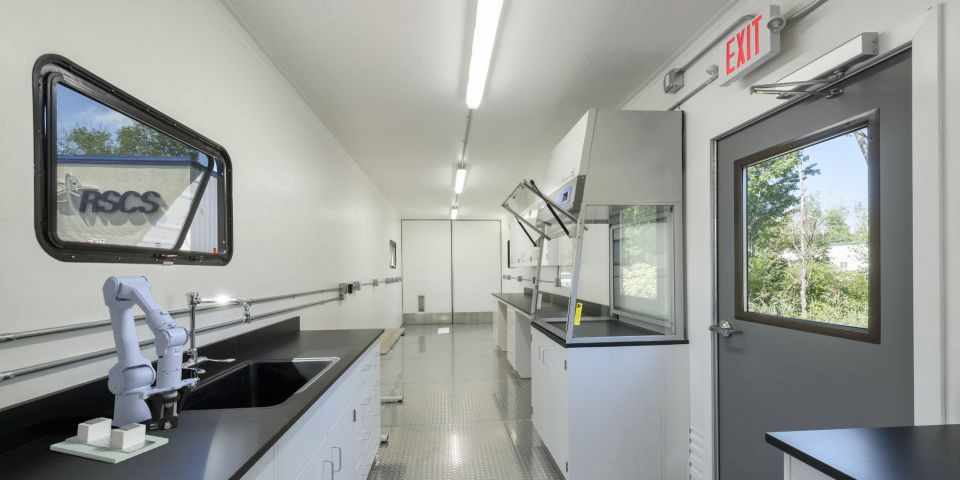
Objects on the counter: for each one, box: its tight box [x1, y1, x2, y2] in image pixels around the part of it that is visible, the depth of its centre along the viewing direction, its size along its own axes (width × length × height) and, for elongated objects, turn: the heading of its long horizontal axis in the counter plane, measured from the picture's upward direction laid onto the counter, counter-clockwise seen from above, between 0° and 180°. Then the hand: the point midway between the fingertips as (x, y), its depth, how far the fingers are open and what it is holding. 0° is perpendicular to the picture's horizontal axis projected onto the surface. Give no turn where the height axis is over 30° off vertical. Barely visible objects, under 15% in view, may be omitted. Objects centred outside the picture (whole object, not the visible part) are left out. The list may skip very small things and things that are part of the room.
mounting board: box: [49, 428, 169, 464], centre depth 103 cm, size 12×24×1 cm, turn 73°
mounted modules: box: [76, 417, 147, 449], centre depth 103 cm, size 5×17×4 cm, turn 73°
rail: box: [65, 433, 156, 454], centre depth 103 cm, size 6×24×1 cm, turn 73°
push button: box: [149, 390, 181, 431], centre depth 115 cm, size 7×5×10 cm
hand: (166, 417), depth 115 cm, fingers closed on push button, 5 cm apart
